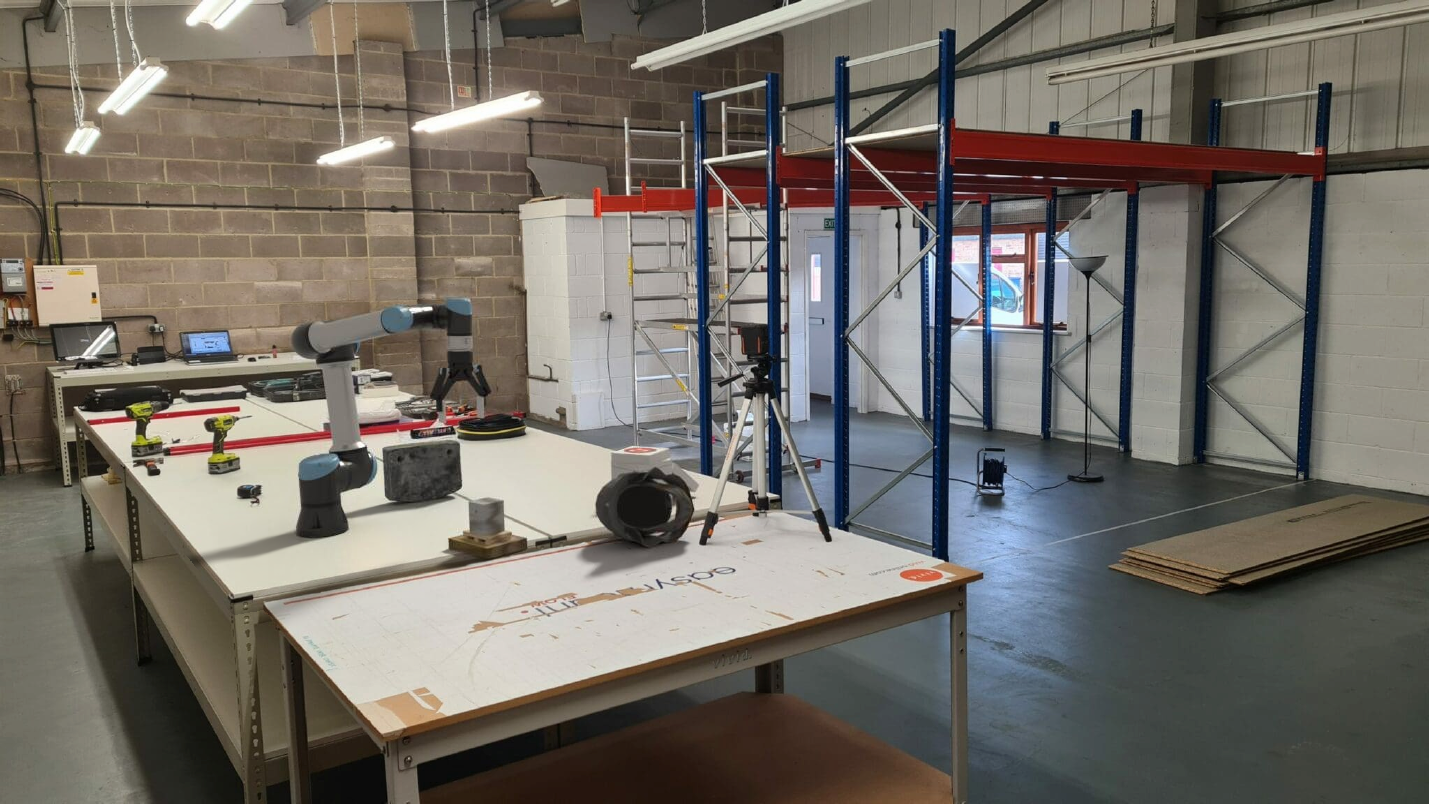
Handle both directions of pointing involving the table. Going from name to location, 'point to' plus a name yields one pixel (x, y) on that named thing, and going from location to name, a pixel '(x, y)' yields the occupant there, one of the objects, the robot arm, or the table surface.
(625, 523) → the helmet
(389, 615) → the table surface
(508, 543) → the dock
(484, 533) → the block
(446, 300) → the robot arm
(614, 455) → the pizza boxes
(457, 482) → the concrete block
